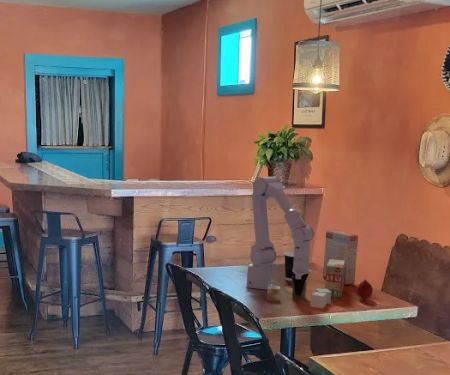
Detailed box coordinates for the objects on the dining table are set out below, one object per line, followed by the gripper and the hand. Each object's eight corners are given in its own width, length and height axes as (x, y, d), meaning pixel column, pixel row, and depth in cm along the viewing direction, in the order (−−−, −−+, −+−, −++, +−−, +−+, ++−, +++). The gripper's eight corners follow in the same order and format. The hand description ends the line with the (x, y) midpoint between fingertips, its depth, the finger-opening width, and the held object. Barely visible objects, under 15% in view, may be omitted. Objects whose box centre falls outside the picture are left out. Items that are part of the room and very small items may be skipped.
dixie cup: (297, 277, 264) (299, 252, 263) (303, 282, 256) (305, 256, 255) (279, 277, 262) (281, 252, 261) (285, 282, 254) (287, 256, 253)
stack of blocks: (329, 283, 256) (331, 254, 255) (344, 285, 255) (346, 255, 254) (324, 296, 236) (326, 265, 235) (340, 298, 234) (343, 266, 233)
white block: (310, 306, 222) (311, 294, 221) (314, 303, 226) (315, 291, 225) (322, 308, 220) (323, 296, 219) (326, 305, 224) (326, 293, 223)
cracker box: (355, 284, 256) (359, 235, 254) (344, 285, 253) (348, 235, 251) (332, 276, 268) (336, 229, 266) (322, 277, 265) (325, 229, 263)
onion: (372, 298, 236) (374, 278, 235) (371, 302, 230) (372, 281, 230) (357, 296, 238) (358, 276, 237) (355, 300, 232) (356, 279, 232)
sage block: (318, 304, 225) (319, 292, 225) (314, 300, 230) (315, 288, 229) (330, 304, 226) (331, 292, 226) (326, 300, 231) (327, 288, 230)
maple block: (267, 300, 227) (267, 288, 226) (266, 297, 231) (267, 285, 231) (279, 301, 226) (280, 289, 226) (278, 297, 231) (279, 286, 231)
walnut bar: (292, 298, 230) (293, 283, 229) (293, 295, 234) (294, 280, 234) (304, 300, 229) (305, 284, 228) (305, 297, 233) (306, 281, 233)
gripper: (310, 263, 222) (307, 299, 224) (313, 255, 236) (311, 289, 238) (290, 261, 224) (288, 297, 225) (295, 253, 238) (293, 287, 239)
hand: (299, 293), depth 231 cm, fingers closed on walnut bar, 4 cm apart
